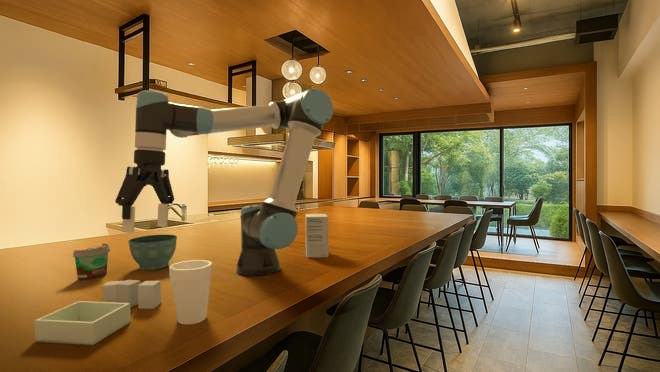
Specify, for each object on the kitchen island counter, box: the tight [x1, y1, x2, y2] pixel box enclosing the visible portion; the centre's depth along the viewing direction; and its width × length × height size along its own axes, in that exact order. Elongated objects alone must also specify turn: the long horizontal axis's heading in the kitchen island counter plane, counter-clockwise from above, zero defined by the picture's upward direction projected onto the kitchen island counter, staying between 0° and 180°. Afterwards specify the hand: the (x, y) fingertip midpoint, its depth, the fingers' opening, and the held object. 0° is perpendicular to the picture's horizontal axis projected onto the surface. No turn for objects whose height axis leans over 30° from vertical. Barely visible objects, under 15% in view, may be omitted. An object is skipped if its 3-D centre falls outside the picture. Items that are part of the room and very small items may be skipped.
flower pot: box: [127, 234, 178, 271], centre depth 132 cm, size 16×16×11 cm
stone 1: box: [101, 280, 124, 303], centre depth 98 cm, size 4×4×5 cm
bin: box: [34, 300, 132, 346], centre depth 79 cm, size 13×11×4 cm
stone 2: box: [116, 279, 141, 309], centre depth 95 cm, size 4×4×6 cm
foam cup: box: [168, 259, 213, 325], centre depth 85 cm, size 10×9×13 cm
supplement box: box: [304, 213, 329, 259], centre depth 150 cm, size 10×9×17 cm
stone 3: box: [137, 280, 162, 309], centre depth 94 cm, size 4×4×6 cm
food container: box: [72, 243, 111, 281], centre depth 121 cm, size 12×6×10 cm, turn 168°
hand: (146, 229), depth 96 cm, fingers open, 13 cm apart
